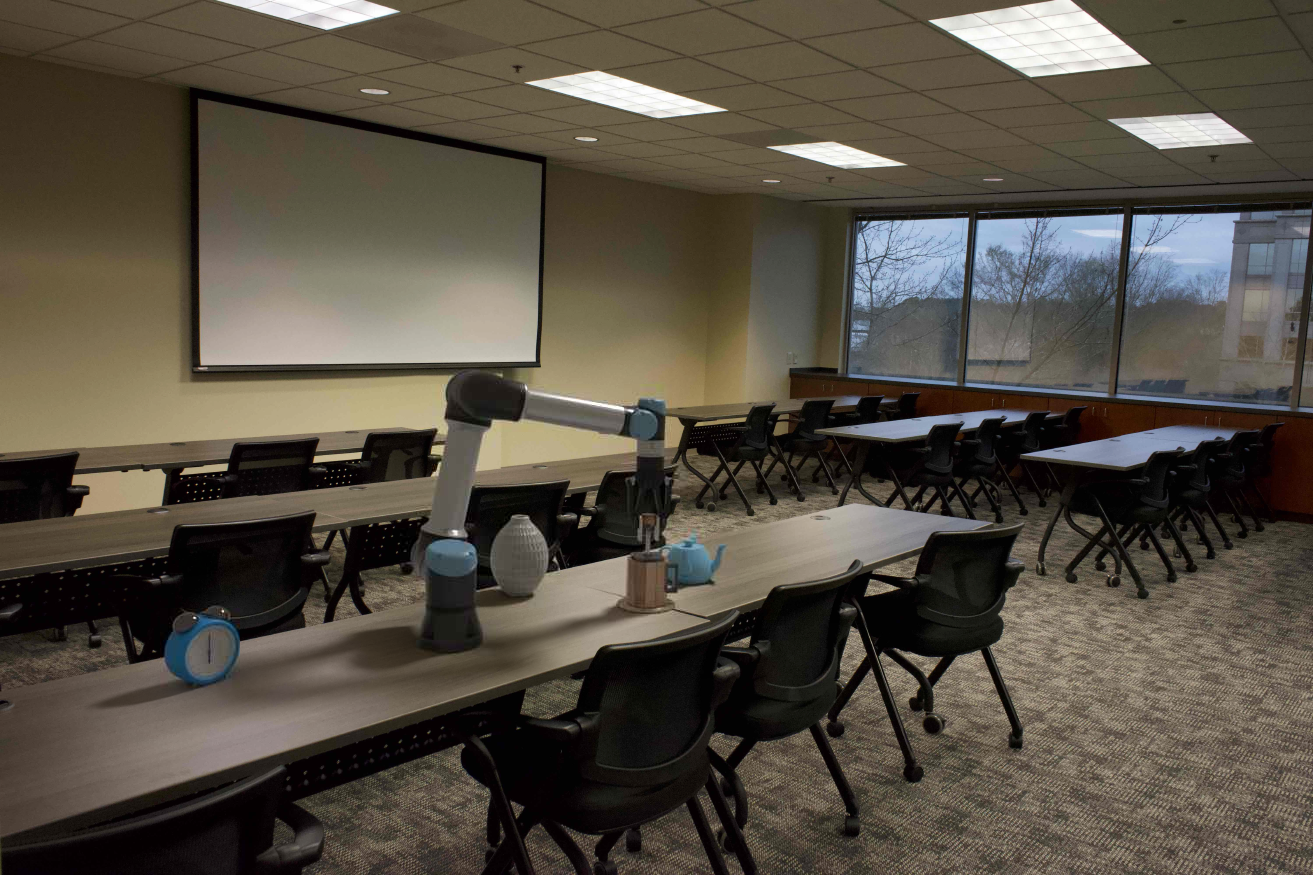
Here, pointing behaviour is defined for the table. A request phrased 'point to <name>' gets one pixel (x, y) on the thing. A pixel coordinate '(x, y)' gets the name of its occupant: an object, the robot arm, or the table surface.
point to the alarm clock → (202, 646)
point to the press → (648, 584)
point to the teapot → (692, 561)
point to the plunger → (648, 529)
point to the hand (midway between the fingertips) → (648, 539)
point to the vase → (519, 557)
